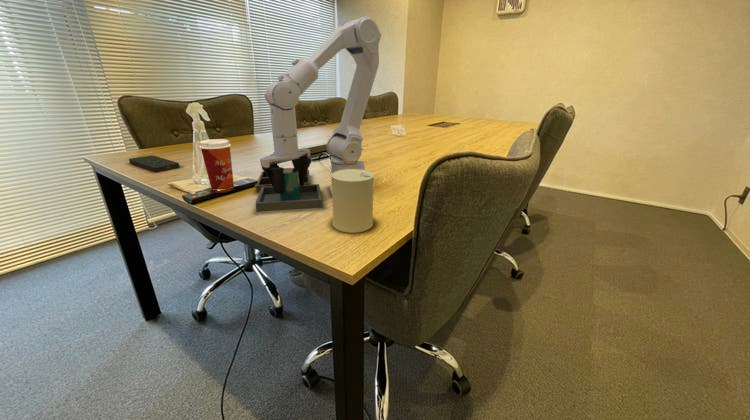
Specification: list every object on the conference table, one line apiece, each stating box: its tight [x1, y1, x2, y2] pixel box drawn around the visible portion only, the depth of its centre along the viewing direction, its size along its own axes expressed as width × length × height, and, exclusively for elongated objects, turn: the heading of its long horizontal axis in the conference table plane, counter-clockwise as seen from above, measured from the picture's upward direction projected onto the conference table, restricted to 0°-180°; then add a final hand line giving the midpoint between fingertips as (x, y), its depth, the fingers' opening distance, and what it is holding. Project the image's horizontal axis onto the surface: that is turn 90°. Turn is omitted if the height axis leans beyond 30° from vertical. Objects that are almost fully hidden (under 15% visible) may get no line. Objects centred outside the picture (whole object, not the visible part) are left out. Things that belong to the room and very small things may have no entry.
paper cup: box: [198, 138, 235, 194], centre depth 84 cm, size 8×8×14 cm
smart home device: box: [128, 154, 181, 173], centre depth 109 cm, size 8×2×20 cm
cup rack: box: [255, 169, 311, 194], centre depth 92 cm, size 15×15×2 cm
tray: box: [255, 183, 323, 213], centre depth 79 cm, size 16×13×2 cm
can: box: [330, 169, 375, 234], centre depth 66 cm, size 9×9×12 cm
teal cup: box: [280, 167, 301, 201], centre depth 78 cm, size 5×5×8 cm
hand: (289, 188), depth 79 cm, fingers open, 7 cm apart
